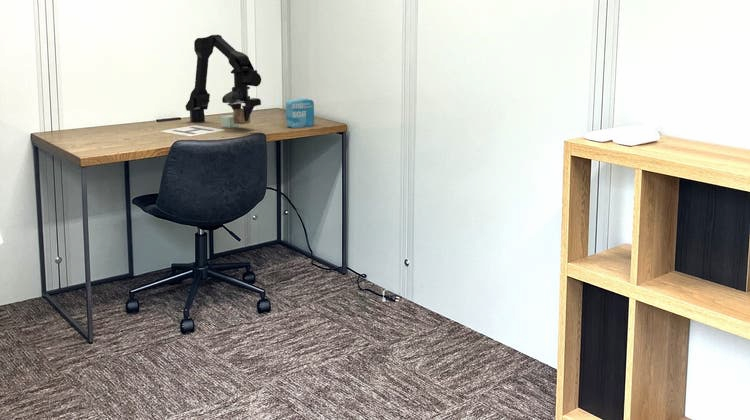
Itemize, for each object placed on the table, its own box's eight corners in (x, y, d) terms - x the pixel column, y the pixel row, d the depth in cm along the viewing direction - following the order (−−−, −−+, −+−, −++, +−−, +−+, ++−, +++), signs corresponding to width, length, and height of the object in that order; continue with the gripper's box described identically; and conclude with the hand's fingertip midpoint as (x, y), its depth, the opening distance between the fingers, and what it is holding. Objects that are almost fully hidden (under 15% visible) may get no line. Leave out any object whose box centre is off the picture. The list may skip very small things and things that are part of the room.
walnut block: (233, 123, 399) (233, 109, 397) (242, 121, 402) (241, 108, 401) (241, 124, 396) (241, 110, 394) (250, 123, 399) (249, 109, 398)
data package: (290, 128, 409) (290, 101, 406) (286, 127, 412) (285, 100, 409) (314, 126, 415) (314, 99, 412) (309, 124, 419) (309, 98, 416)
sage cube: (221, 128, 407) (220, 116, 406) (230, 127, 411) (230, 115, 410) (229, 130, 404) (229, 117, 402) (239, 128, 408) (238, 116, 407)
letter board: (159, 133, 395) (159, 131, 394) (195, 127, 410) (195, 125, 410) (190, 138, 383) (190, 136, 382) (226, 132, 398) (226, 129, 398)
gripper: (212, 84, 394) (213, 120, 398) (242, 88, 383) (243, 125, 387) (231, 82, 403) (232, 117, 407) (261, 85, 391) (262, 121, 395)
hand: (242, 120), depth 399 cm, fingers closed on walnut block, 5 cm apart
